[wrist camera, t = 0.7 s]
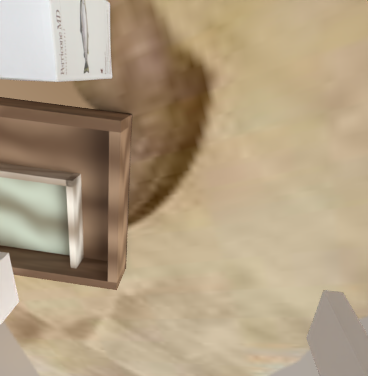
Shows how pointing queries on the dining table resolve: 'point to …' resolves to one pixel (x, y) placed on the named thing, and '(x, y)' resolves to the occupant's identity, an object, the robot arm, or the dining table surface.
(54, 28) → the supplement box
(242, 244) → the dining table surface
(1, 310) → the robot arm
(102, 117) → the crate
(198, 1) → the dining table surface
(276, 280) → the dining table surface
